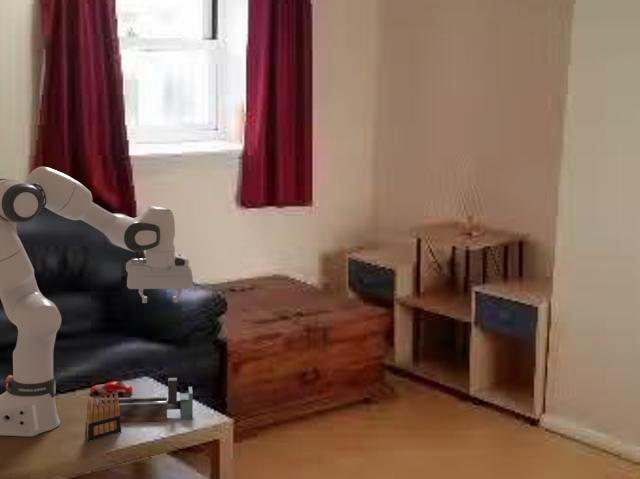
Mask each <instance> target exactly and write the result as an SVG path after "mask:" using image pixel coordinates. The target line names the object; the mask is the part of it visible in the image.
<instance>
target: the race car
mask: <svg viewBox="0 0 640 479" xmlns="http://www.w3.org/2000/svg"><path fill="white" fill-rule="evenodd" d="M89 391H90V394H91V395H93V396H95V397H98V396H99V397H100V396H101V397H102V396H103V397H105V395H106V396H107V397H110V394H112V396H113V397H115V394H116V392H117V393H118V398H124V397H129V396H130V395H132V393H133V388H132V385H131V384H128V383H125V382H121V381H108V382H106V383H104V384H96V385H93V386H91V387H90V390H89Z"/></svg>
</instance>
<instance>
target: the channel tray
mask: <svg viewBox="0 0 640 479" xmlns="http://www.w3.org/2000/svg"><path fill="white" fill-rule="evenodd" d="M118 398H119V408H120V417H121V424H150V423H153V424H154V423H168V410H167V402H158V403H133V402H143V401H168V396H160V397H159V396H158V397H156V396H154V397H153V396H151V397H150V396H149V397H118ZM114 399H115V397H113V405H114ZM98 400H99V398H96V401H97V411H98ZM107 400H108V407H109V398H108V397H107ZM103 404H104V398H102V406H103ZM92 410H93V408H92Z"/></svg>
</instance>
